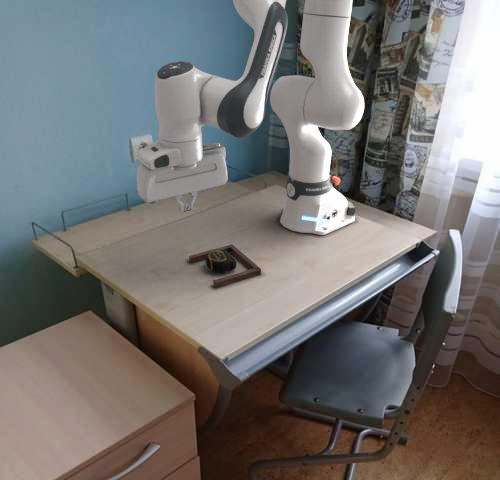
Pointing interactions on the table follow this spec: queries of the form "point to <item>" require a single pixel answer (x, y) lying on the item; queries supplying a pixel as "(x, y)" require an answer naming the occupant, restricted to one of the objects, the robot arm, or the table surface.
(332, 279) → the table surface
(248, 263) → the bay
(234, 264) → the tape measure
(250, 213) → the table surface
